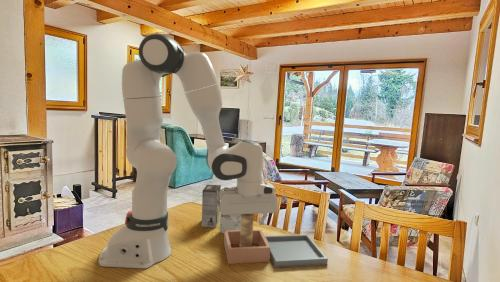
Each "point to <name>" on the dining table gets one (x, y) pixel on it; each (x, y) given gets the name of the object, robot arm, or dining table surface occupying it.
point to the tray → (295, 251)
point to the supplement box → (229, 222)
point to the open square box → (246, 248)
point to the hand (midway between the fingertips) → (248, 224)
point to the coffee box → (211, 206)
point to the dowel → (246, 230)
